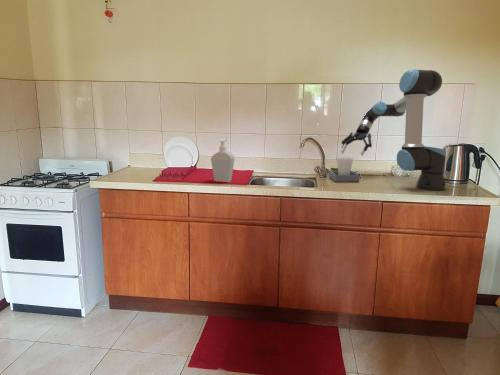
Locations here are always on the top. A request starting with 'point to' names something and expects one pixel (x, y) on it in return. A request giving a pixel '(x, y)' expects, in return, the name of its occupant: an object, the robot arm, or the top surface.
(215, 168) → the soap bottle
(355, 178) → the tray
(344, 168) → the foam cup
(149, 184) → the top surface
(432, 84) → the robot arm
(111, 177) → the top surface
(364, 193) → the top surface
